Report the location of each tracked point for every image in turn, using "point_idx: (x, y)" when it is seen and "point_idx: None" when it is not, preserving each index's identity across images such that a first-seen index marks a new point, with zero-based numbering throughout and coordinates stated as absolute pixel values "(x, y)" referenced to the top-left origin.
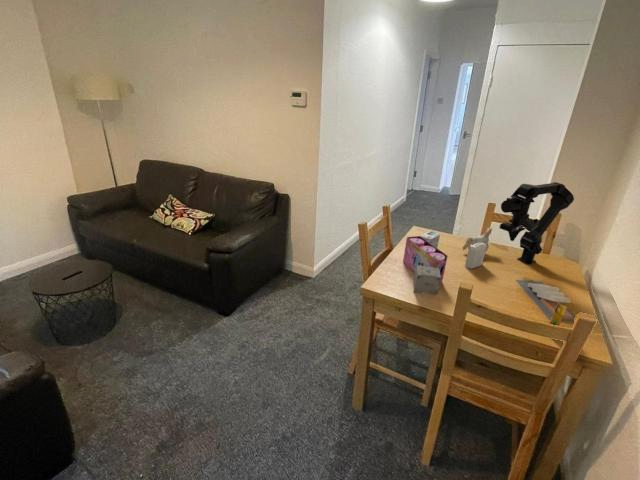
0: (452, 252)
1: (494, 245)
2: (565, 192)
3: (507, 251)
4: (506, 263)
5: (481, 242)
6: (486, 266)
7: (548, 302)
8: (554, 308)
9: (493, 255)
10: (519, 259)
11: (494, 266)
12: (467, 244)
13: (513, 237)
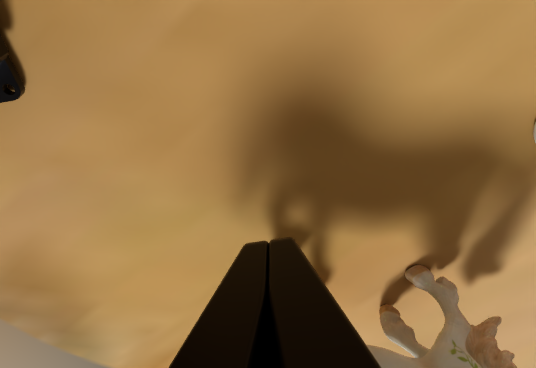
0: (532, 318)
1: (79, 333)
2: None
3: (26, 241)
4: (237, 45)
5: (390, 366)
6: (533, 51)
7: None
8: None
9: (233, 214)
10: (10, 69)
11: (446, 25)
12: (514, 365)
13: (351, 333)
